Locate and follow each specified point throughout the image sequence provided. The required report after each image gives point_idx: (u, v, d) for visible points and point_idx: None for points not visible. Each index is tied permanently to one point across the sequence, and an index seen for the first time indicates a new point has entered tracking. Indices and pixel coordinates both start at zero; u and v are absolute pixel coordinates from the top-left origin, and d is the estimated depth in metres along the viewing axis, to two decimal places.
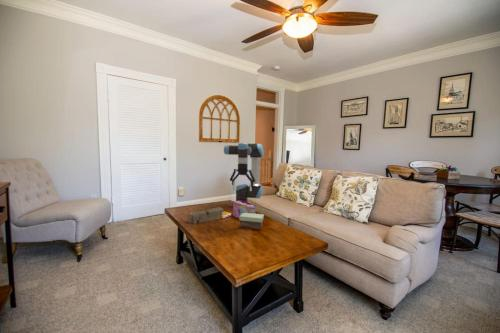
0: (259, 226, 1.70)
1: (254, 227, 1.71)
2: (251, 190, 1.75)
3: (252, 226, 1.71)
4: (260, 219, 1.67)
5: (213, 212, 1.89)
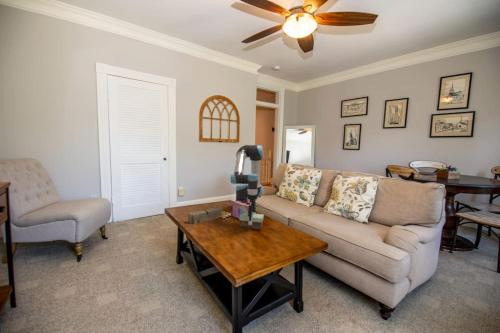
0: (259, 226, 1.70)
1: (254, 227, 1.71)
2: (251, 224, 1.69)
3: (252, 226, 1.71)
4: (260, 219, 1.67)
5: (213, 212, 1.90)
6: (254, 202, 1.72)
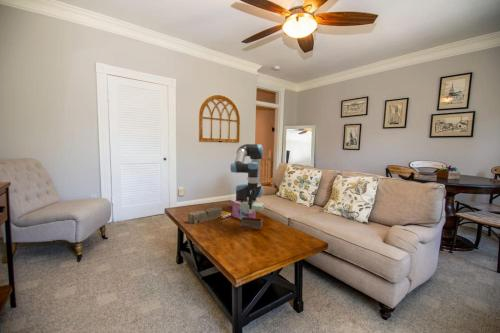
0: (259, 226, 1.70)
1: (254, 227, 1.71)
2: None
3: (252, 226, 1.71)
4: (260, 207, 1.67)
5: (212, 211, 1.90)
6: (254, 190, 1.71)
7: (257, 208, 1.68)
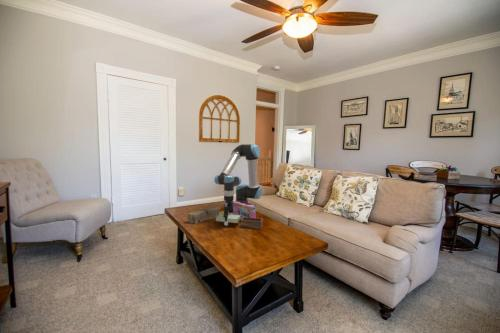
0: (259, 226, 1.70)
1: (254, 227, 1.71)
2: (227, 225, 1.73)
3: (252, 226, 1.71)
4: (235, 220, 1.72)
5: (212, 211, 1.92)
6: (230, 203, 1.76)
7: (232, 220, 1.72)
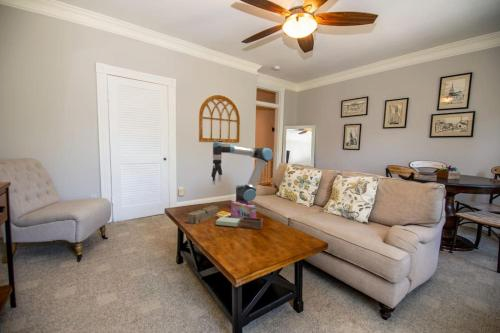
0: (259, 226, 1.70)
1: (254, 227, 1.71)
2: (215, 184, 1.93)
3: (252, 226, 1.71)
4: (235, 223, 1.72)
5: (210, 210, 1.94)
6: (218, 166, 1.98)
7: (232, 224, 1.73)
